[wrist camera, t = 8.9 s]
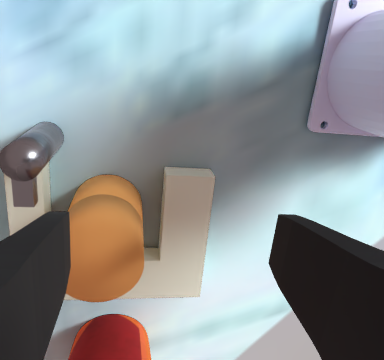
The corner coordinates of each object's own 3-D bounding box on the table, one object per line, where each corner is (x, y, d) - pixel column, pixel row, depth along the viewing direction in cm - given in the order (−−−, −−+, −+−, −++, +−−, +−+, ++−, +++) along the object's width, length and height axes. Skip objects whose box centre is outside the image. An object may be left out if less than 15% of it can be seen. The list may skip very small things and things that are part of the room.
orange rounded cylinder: (142, 174, 21) (145, 222, 15) (141, 235, 23) (143, 299, 17) (70, 174, 21) (43, 223, 15) (74, 236, 22) (52, 304, 16)
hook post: (63, 122, 19) (40, 144, 15) (64, 172, 20) (44, 207, 16) (30, 120, 19) (-4, 142, 14) (33, 171, 20) (3, 206, 16)
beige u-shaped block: (210, 168, 22) (215, 177, 20) (196, 282, 25) (199, 296, 23) (13, 159, 20) (3, 168, 18) (24, 285, 23) (16, 301, 21)
